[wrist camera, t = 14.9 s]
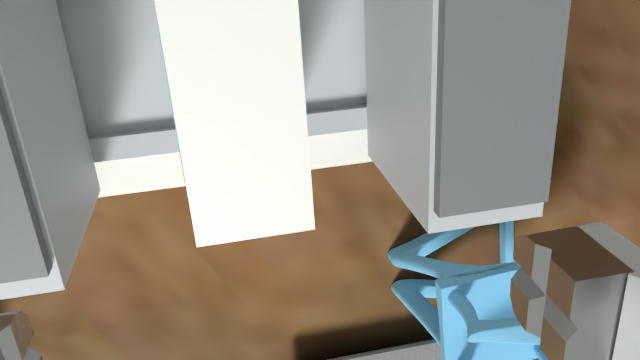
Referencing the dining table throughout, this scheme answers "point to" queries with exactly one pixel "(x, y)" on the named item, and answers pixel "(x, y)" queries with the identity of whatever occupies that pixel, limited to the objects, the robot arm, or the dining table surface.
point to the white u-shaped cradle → (321, 108)
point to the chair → (465, 300)
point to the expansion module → (239, 115)
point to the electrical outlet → (401, 352)
